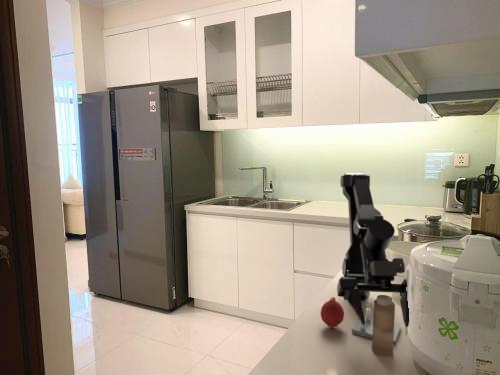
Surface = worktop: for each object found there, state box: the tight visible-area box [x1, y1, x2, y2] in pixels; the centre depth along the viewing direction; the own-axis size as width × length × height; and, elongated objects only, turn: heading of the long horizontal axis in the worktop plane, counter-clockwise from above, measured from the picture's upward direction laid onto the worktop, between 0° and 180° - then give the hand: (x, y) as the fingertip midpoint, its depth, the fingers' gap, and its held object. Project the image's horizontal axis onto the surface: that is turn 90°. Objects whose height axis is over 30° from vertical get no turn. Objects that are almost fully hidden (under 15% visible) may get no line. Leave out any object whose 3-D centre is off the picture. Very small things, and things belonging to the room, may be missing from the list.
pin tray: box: [351, 307, 402, 346], centre depth 88 cm, size 8×10×4 cm
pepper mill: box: [371, 294, 396, 357], centre depth 80 cm, size 4×4×12 cm
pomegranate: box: [320, 296, 345, 329], centre depth 90 cm, size 6×6×8 cm
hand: (385, 325), depth 78 cm, fingers open, 9 cm apart
